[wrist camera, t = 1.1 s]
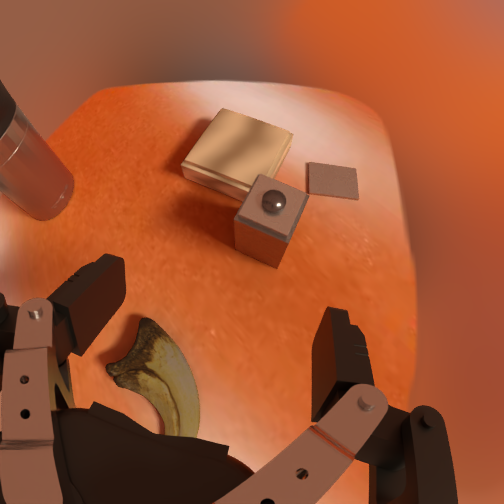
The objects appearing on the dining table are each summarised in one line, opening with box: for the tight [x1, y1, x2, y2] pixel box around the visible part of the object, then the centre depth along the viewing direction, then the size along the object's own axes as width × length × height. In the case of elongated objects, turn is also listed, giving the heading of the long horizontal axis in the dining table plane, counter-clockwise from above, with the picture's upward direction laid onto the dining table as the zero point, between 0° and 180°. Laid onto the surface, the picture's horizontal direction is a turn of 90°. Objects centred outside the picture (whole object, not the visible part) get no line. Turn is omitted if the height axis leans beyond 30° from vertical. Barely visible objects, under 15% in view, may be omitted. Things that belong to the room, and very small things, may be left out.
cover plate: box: [309, 162, 359, 200], centre depth 40 cm, size 7×5×1 cm
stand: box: [181, 108, 293, 202], centre depth 39 cm, size 11×11×4 cm
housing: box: [234, 174, 309, 269], centre depth 32 cm, size 6×6×11 cm
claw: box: [105, 318, 200, 438], centre depth 30 cm, size 20×10×3 cm, turn 11°
